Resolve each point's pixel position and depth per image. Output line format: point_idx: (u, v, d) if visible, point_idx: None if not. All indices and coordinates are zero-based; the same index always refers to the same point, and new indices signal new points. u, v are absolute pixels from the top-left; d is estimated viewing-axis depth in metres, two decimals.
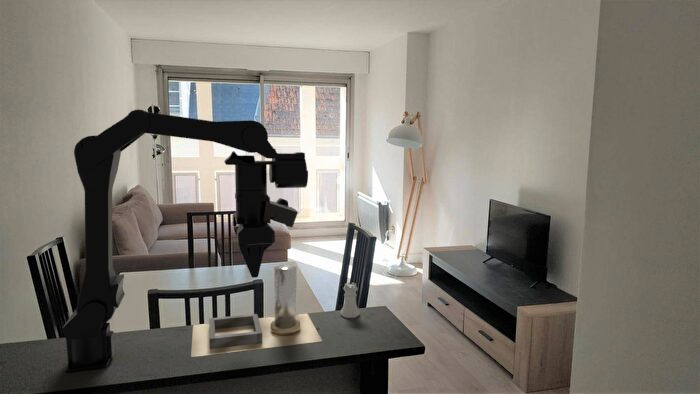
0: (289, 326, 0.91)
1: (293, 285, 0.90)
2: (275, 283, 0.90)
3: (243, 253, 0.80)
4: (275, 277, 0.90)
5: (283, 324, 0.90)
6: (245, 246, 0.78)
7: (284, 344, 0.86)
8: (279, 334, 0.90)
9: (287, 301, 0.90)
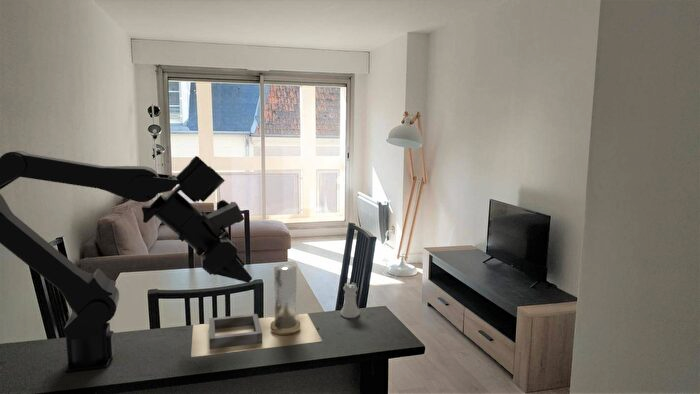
0: (289, 326, 0.91)
1: (293, 285, 0.90)
2: (275, 283, 0.90)
3: (223, 274, 0.81)
4: (275, 277, 0.90)
5: (283, 324, 0.90)
6: (218, 270, 0.79)
7: (284, 344, 0.86)
8: (279, 334, 0.90)
9: (287, 301, 0.90)
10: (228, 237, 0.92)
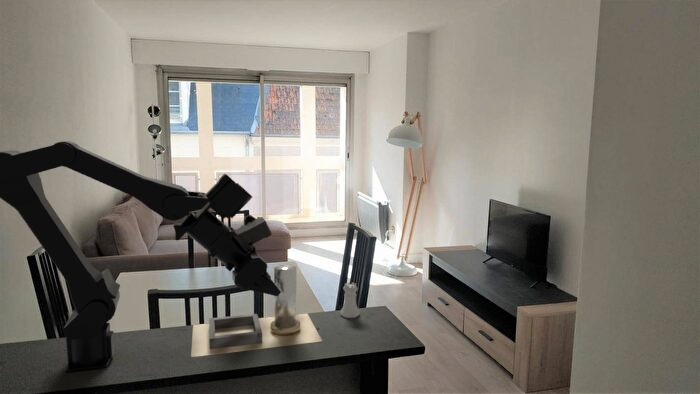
0: (289, 326, 0.91)
1: (293, 285, 0.90)
2: (275, 283, 0.90)
3: (253, 289, 0.83)
4: (275, 277, 0.90)
5: (283, 324, 0.90)
6: (249, 286, 0.81)
7: (284, 344, 0.86)
8: (279, 334, 0.90)
9: (287, 301, 0.90)
10: (255, 251, 0.94)
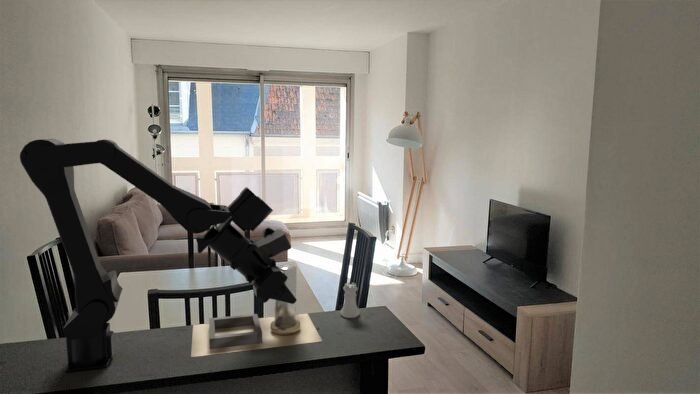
0: (289, 326, 0.91)
1: (293, 285, 0.90)
2: None
3: (271, 297, 0.86)
4: None
5: (283, 324, 0.90)
6: None
7: (284, 344, 0.86)
8: (279, 334, 0.90)
9: None
10: (275, 265, 0.93)
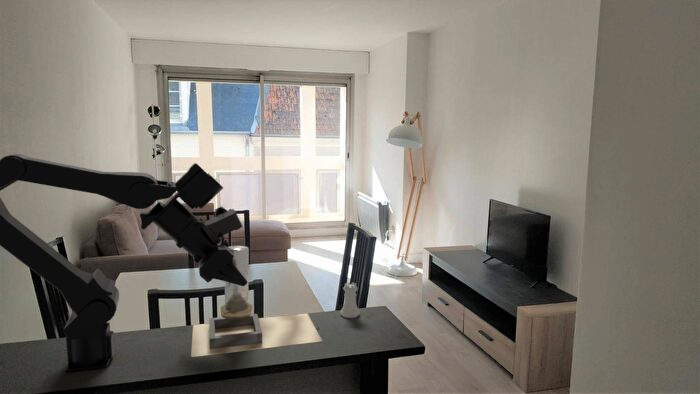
0: (239, 309, 0.87)
1: (244, 267, 0.87)
2: None
3: (219, 278, 0.83)
4: None
5: (233, 307, 0.87)
6: None
7: (284, 344, 0.86)
8: (228, 317, 0.86)
9: None
10: (227, 246, 0.90)
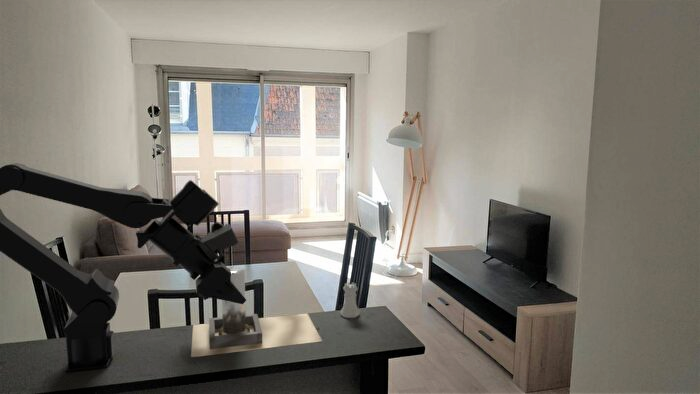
0: (237, 332, 0.88)
1: (240, 289, 0.87)
2: None
3: (217, 297, 0.82)
4: None
5: (231, 330, 0.87)
6: (212, 294, 0.80)
7: (284, 344, 0.86)
8: None
9: (234, 306, 0.87)
10: (223, 259, 0.91)
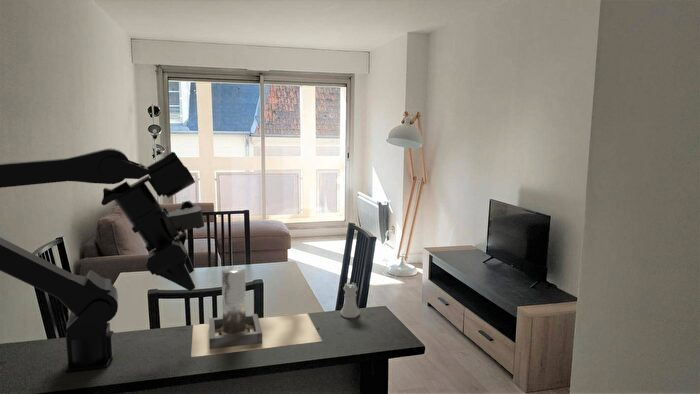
0: (237, 331, 0.88)
1: (241, 289, 0.87)
2: (222, 287, 0.87)
3: (166, 277, 0.78)
4: (222, 281, 0.87)
5: (231, 329, 0.87)
6: (161, 272, 0.76)
7: (284, 344, 0.86)
8: None
9: (235, 306, 0.87)
10: (185, 239, 0.89)
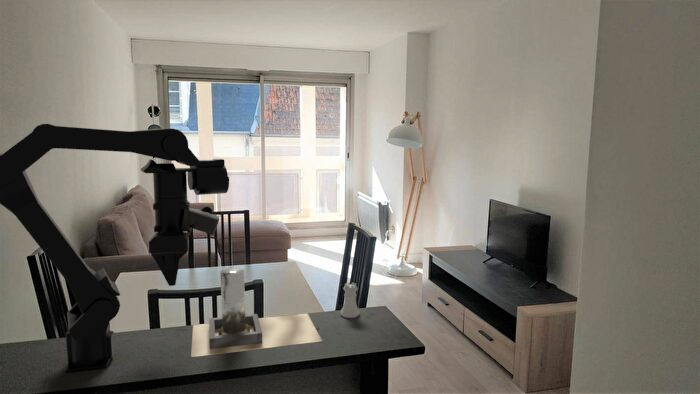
0: (237, 331, 0.88)
1: (240, 289, 0.87)
2: (221, 287, 0.87)
3: (157, 261, 0.79)
4: (221, 281, 0.87)
5: (231, 330, 0.87)
6: (157, 255, 0.78)
7: (284, 344, 0.86)
8: None
9: (234, 306, 0.87)
10: None
